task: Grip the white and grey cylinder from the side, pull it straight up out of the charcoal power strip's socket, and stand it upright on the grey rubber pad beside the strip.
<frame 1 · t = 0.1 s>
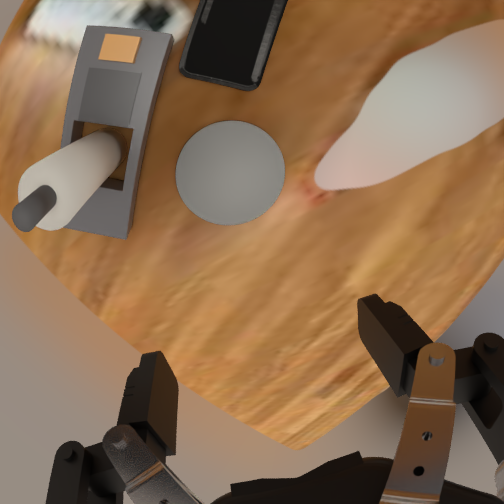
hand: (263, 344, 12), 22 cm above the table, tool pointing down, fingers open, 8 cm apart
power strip: (109, 129, 26), on the table
white and grey cylinder: (106, 149, 27), resting in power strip
pad: (230, 173, 31), on the table
phone: (237, 16, 23), on the table
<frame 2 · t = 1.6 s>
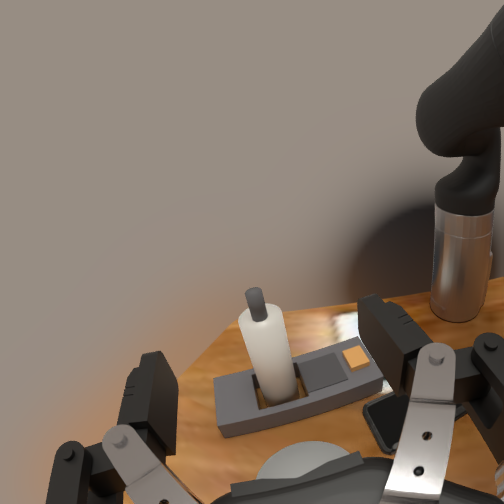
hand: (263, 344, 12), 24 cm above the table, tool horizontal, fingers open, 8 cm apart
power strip: (297, 394, 36), on the table
white and grey cylinder: (282, 399, 36), resting in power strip
pad: (308, 485, 24), on the table
phone: (426, 408, 29), on the table
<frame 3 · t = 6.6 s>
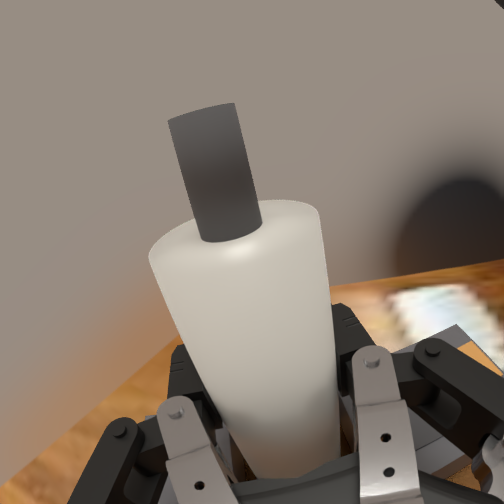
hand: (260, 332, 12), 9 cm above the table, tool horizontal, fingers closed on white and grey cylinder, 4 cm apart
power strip: (336, 461, 13), on the table
white and grey cylinder: (300, 471, 13), resting in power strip, touching gripper
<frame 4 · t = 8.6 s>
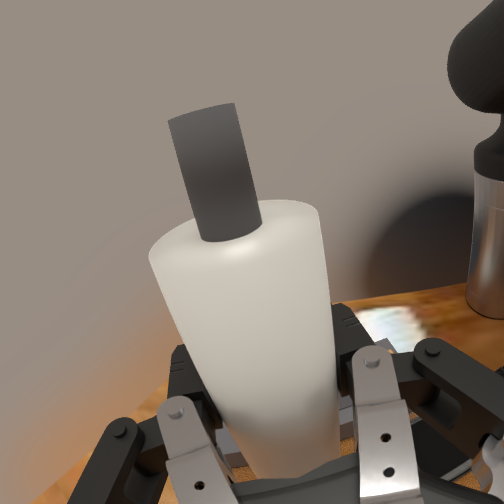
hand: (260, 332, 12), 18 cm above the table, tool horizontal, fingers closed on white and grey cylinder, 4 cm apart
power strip: (309, 415, 27), on the table
white and grey cylinder: (300, 471, 13), point 9 cm above the table, touching gripper
phone: (473, 428, 19), on the table
when the fingers open (10 cm above the table, at t = 11.0 s): white and grey cylinder drops 1 cm, resting on pad.
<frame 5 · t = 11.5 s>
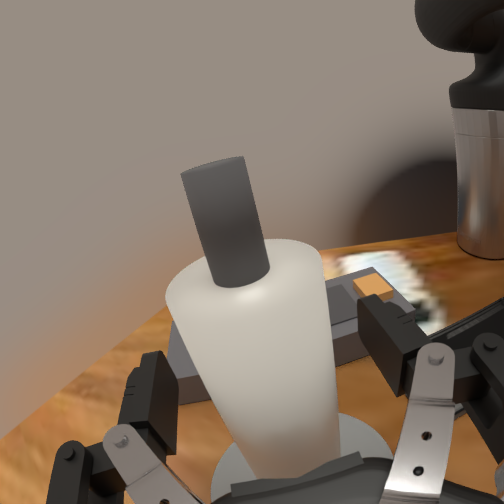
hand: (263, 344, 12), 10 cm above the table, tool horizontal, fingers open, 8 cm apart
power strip: (289, 345, 26), on the table
white and grey cylinder: (303, 480, 14), point 1 cm above the table, touching pad
pad: (303, 483, 14), on the table
phone: (478, 359, 19), on the table
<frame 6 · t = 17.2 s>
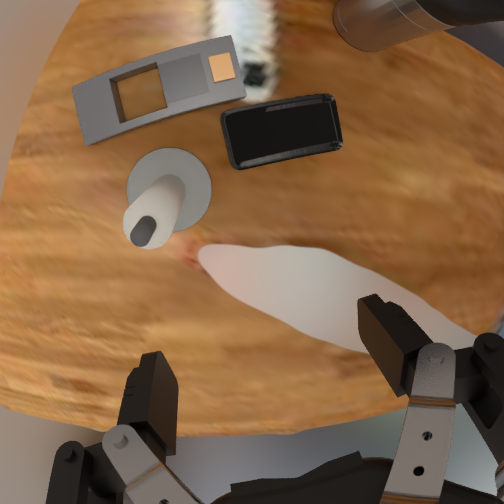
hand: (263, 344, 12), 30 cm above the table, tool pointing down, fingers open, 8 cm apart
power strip: (158, 89, 33), on the table
white and grey cylinder: (168, 191, 38), point 1 cm above the table, touching pad
pad: (168, 190, 38), on the table
phone: (282, 129, 38), on the table
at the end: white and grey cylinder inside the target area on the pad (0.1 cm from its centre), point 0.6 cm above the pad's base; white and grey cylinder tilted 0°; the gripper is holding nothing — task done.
